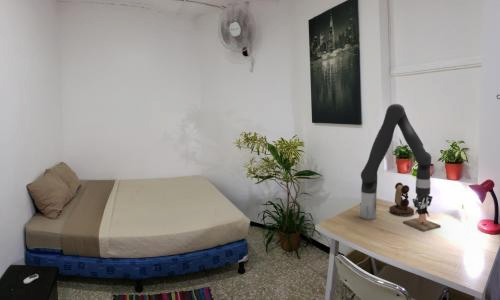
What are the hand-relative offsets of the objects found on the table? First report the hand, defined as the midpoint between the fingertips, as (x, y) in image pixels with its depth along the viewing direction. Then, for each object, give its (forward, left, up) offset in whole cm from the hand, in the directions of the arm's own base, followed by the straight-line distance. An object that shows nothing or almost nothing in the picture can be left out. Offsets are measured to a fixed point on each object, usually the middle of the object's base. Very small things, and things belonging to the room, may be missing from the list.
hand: (422, 213), depth 177 cm
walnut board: (0, 0, -7) cm, 7 cm away
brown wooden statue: (+6, +20, -8) cm, 22 cm away
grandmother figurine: (0, 0, -6) cm, 6 cm away
